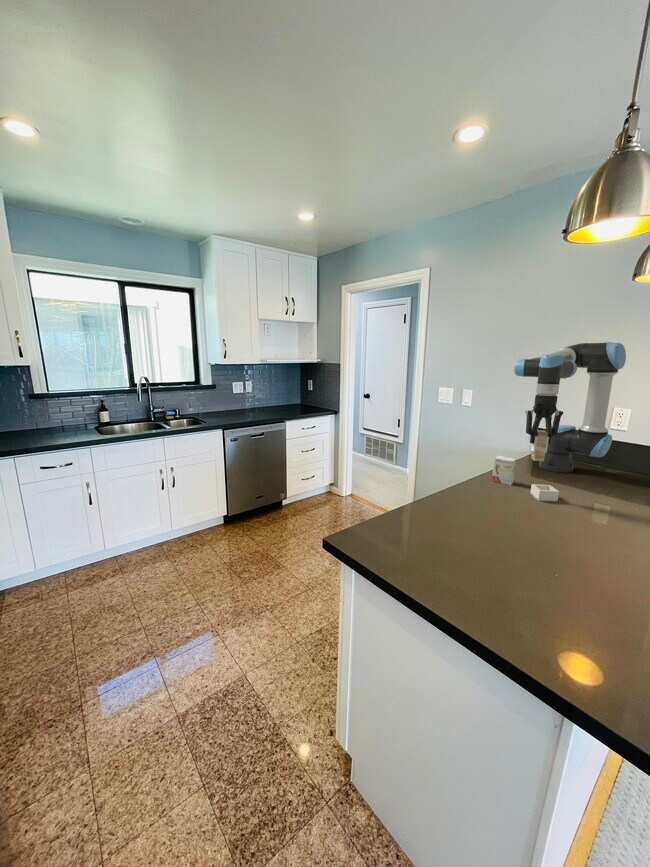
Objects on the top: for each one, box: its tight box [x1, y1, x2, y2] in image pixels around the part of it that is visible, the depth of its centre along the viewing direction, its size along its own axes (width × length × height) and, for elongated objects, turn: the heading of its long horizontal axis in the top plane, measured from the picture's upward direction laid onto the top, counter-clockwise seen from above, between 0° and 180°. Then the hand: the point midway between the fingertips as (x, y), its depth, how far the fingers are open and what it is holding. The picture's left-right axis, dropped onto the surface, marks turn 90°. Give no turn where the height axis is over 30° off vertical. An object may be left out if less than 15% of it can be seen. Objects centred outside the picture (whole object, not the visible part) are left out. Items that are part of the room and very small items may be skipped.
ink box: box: [491, 455, 517, 486], centre depth 164 cm, size 9×5×12 cm, turn 50°
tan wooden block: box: [530, 429, 548, 462], centre depth 143 cm, size 4×4×12 cm
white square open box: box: [529, 483, 560, 503], centre depth 147 cm, size 7×7×4 cm
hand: (538, 451), depth 144 cm, fingers closed on tan wooden block, 3 cm apart
